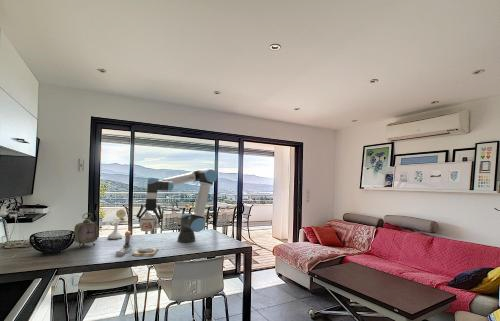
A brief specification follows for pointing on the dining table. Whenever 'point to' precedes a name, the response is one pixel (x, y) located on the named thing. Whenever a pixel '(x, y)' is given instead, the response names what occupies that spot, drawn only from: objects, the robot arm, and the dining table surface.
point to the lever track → (123, 251)
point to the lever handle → (127, 239)
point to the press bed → (145, 252)
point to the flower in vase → (115, 233)
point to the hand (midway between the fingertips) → (148, 227)
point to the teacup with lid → (147, 223)
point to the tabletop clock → (86, 231)
